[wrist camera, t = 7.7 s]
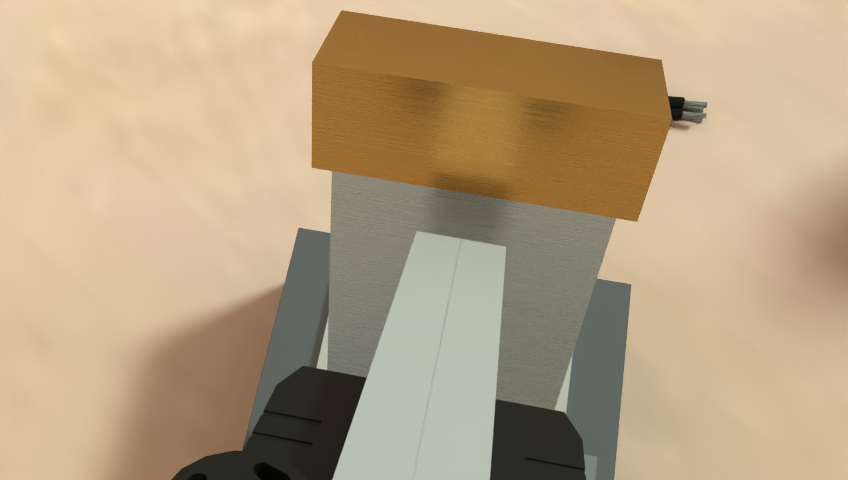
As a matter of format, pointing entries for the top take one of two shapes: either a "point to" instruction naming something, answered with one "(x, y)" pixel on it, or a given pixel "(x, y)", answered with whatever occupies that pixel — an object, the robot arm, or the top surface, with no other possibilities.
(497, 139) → the lever
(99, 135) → the top surface
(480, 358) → the robot arm
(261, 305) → the top surface
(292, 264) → the switch box
